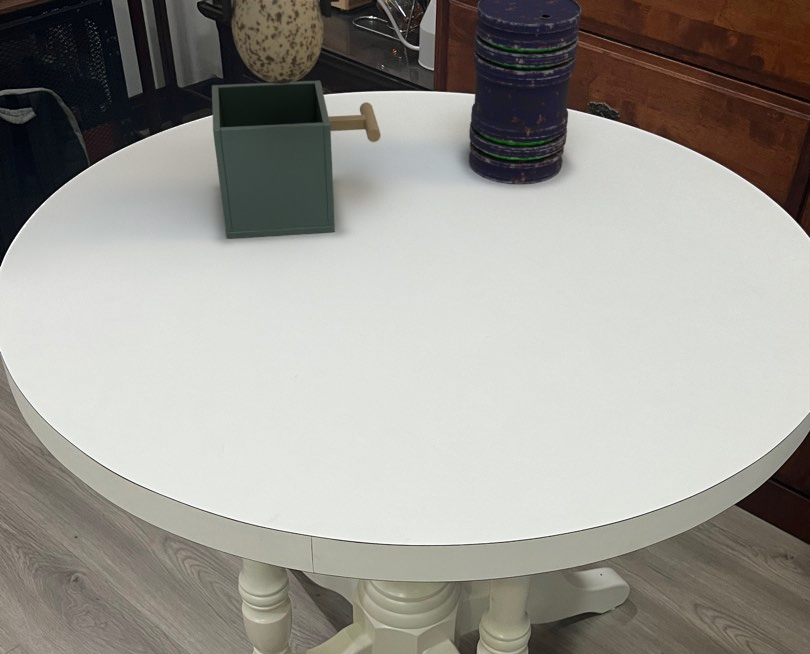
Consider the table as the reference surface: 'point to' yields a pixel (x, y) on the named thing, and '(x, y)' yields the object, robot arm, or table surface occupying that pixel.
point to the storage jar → (522, 88)
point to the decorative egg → (278, 37)
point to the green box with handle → (278, 156)
